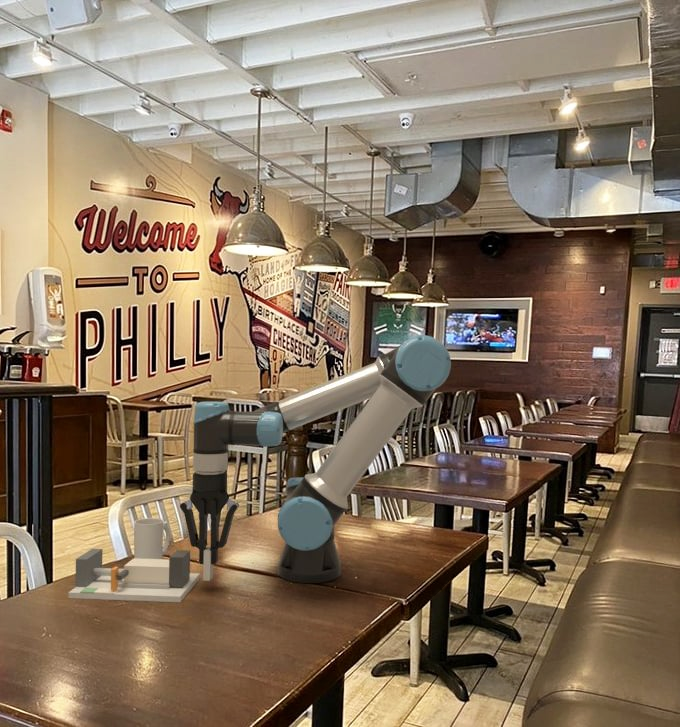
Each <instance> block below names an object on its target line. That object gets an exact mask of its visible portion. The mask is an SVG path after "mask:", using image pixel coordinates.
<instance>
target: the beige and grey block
mask: <svg viewBox="0 0 680 727" xmlns="http://www.w3.org/2000/svg"><path fill="white" fill-rule="evenodd" d="M168 558H169V559H163V558H162V559H138V558H134V557H133V558H132V559H131V560H130V561H128V562H127V563H125V564H124V566H123V569H124V570H123V571H122V572H121V573H120V574H118V575H117V580H123V579H124V583H130V584H158V585H170V586H169V587H183V586H184V585H185V584H186V583H187V581H188V580H189V579H190V573H191V550H188V549H186V550H184V549H183V550H182V549H176V550H175V551H174V553H172V554H171V555H170V556H169V557H168Z"/></svg>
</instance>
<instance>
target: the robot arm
mask: <svg viewBox="0 0 680 727" xmlns="http://www.w3.org/2000/svg"><path fill="white" fill-rule="evenodd" d="M451 367H452V361H451V355H450V353H449V351H448V348H447V347H446V346H445V345H444V344H443V343H442V342H441V341H440V340H438V339H436V338H434V337H433V336H431V335H425V334H418V335H414V336H411V337H409V338H408V339H406V340H405V341H404V342H402V343H401V344H400V345H398V346H397V347H395V348H394V349H392V350H390V351H389V352H386V353H384V354H381V355H378V357H377V358H376V360H375V361H374V362H373V363H370V364H368V365H365V366H363V367H361V368H358V369H356V370H353V371H350V372H348V373H345V374H343V375H340V376H337V377H335V378H332V379H330V380H328V381H325V382H323V383H320V384H318V385H315V386H313V387H311V388H307V389H305V390H303V391H300V392H298V393H295V394H293V395H290V396H288V397H286V398H283V399H280V400H279V401H276V402H273V403H271V404H268V405H266V406H262V407H259V408H257V409H255V410H253V411H235V410H230V406H229V405H230V404H229V403H228V402H226V401H200V402H197V403H196V404H195V406H194V413H193V414H194V415H193V416H194V417H193V422H192V425H193V452H192V470H193V471H194V472H193V474H192V491H191V494H190V496H189V499H188V500H184V501H183V502H181V503H180V505H179V508H180V510H181V511H182V513H183V514H184V519H185V524H186V529H187V533H188V537H189V542H190V546H191V547H192V548H197V549H198V550H199V552H198V562H199V565H203V567H202V568H203V572H202V575H203V577H202V581H206V582H207V581H209V582H210V581H211V580H212V579H213V577H214V565H217V563H218V561H219V549H221V548H224V547H225V545H226V544H227V542H228V538H229V534H230V531H231V526H232V523H233V520H234V516H235V513H236V511H237V510H238V508H239V507H240V504H239V503H238V502H234V501H233V500H232V499H230V494H229V493H228V473H227V470H228V468H229V467H228V465H229V464H228V463H229V462H228V460H229V458H228V457H229V455H228V454H229V446H255V447H263V448H267V447H276V446H279V445H281V444H282V440H283V434H285V433H286V432H288V431H291V430H293V429H296V428H299V427H301V426H303V425H306V424H308V423H311V422H314V421H316V420H318V419H321V418H324V417H326V416H329V415H332V414H334V413H337V412H339V411H341V410H342V411H343V410H344V409H346V408H349V407H352V406H355V405H357V404H360V403H362V402H364V401H367V400H368V402H367V403H366V405H364V407H363V408H362V410H361V411H360V412H359V414H357V416H356V418H355V419H354V420H353V422H352V423H351V425H350V426H349V427H348V428H347V430H346V432H345V433H344V434H343V436H342V437H341V438H340V439H339V441H338V442H337V444H335V446H334V448H333V449H332V450H331V452H330V453H329V455H328V456H327V457H326V458H325V460H324V461H323V462H322V464H321V465H320V466H319V468H318V469H317V470H316V472H314V473H307V474H305V475H304V477H303V476H301V477H297V476H296V477H289V479H287V482H286V487H285V491H286V499H285V502H284V503H283V504H282V506H281V507H280V509H279V511H278V513H277V530H278V533H279V534H280V537H281V538H282V540H283V542H285V543H284V547H283V549H282V552H281V554H280V559H279V561H278V568H277V570H278V571H277V575H278V576H279V577H280V578H281V579H283V580H285V581H287V582H288V581H289V582H293V583H301V584H318V583H319V584H320V583H325V582H326V583H327V582H330V581H331V582H332V581H333V580H336V579H338V578H339V577H340V576H341V575H342V563H341V559H340V556H339V553H338V550H337V547H336V543H335V525H336V524H337V523H338V521H339V520H340V518H341V517H342V516H343V515H344V513H345V512H346V510H348V508H349V504H348V496H349V495H350V493H351V492H352V490H353V489H354V488H355V486H356V485H357V484H358V482H359V481H360V479H361V478H362V477H363V476H364V474H366V472H367V470H368V469H369V468H370V466H371V465H372V464H373V462H374V461H375V459H376V458H377V457H378V456H379V454H380V453H381V452H382V450H383V449H384V448H385V446H386V445H387V443H388V442H389V440H390V439H391V438H392V437H393V436H394V434H395V432H396V431H397V430H398V428H399V427H400V426H401V424H402V423H403V422H404V421H405V419H406V417H407V416H409V414H410V412H411V411H412V410H413V409H417V408H422V407H423V406H424V405H425V404H426V402H427V401H428V400H429V399H430V397H431V396H432V394H433V393H434V392H435V391H436V389H437V388H439V387H441V386H442V385H444V383H445V382H446V380H447V379H448V377H449V375H450V372H451V369H452V368H451ZM193 506H194V507H195V509H196V511H197V512H198V519H199V520H198V521H199V524H198V527H199V528H198V527H197V525H196V524H197V523H196V520H195V519H196V518H195V515H194V510H193ZM225 506H226V510H227V513H226V515H225V518H224V522H223V526H222V531H221V534H220V533H219V532H220V512H222V510H223V509H224V508H225ZM209 517H210V547H208V545H209V543H208V521H209V520H208V519H209ZM197 528H198V529H197ZM219 536H220V537H219Z"/></svg>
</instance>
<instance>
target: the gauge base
mask: <svg viewBox="0 0 680 727" xmlns="http://www.w3.org/2000/svg"><path fill="white" fill-rule="evenodd" d="M112 568H113V567H112ZM112 568H108V567H107V568H105V567H103V548H91V549H90V550H87V551H86V552H85V553H83V554H82V555H80V556H78V557H77V558H76V559H75V584H74V585H75V587H74V588H72V589H71V590H70V591H68V599H79V600H80V599H81V600H82V599H84V600H106V601H108V600H110V601H111V600H112V601H115V600H116V601H133V602H136V601H137V602H158V603H159V602H162V603H163V602H164V603H181V602H182V601H183V600H184V598H185V597H186V596H187V595H188V593H189V592H191V590H192V589H193V588H194V586H196V584H197V583H198V582H199V580H200V579H201V573H197V572H195V573H193V572H190V579H189V580H188V581H187V583H186V584H185V585H184V586H183V587H169V586H170V585H158V584H130V583H124V579H123V580H118V588H117V589H116V590H111V569H112ZM123 570H124V568H119V572H118V574H120V573H121V572H122V571H123Z"/></svg>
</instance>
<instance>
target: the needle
mask: <svg viewBox="0 0 680 727" xmlns="http://www.w3.org/2000/svg"><path fill="white" fill-rule="evenodd" d="M119 569H120V568H119V566H113V567H112V569H111V590H116V589H117V588H118V580H117V575H118V572H119Z"/></svg>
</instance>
